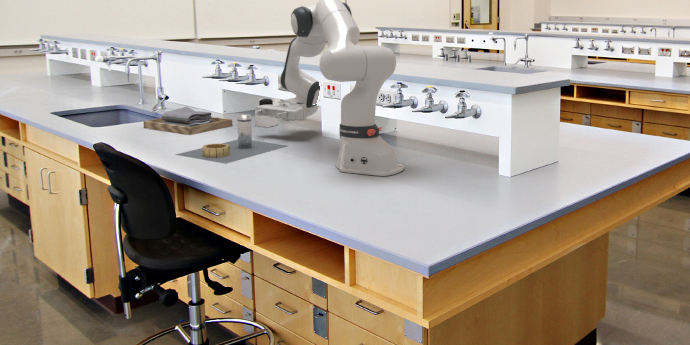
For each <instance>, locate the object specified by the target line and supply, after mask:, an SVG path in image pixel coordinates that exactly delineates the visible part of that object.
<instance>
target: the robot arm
mask: <svg viewBox="0 0 690 345" xmlns="http://www.w3.org/2000/svg"><path fill="white" fill-rule="evenodd" d="M351 10H352V9H351V7H350V6H349V5H348V3H346V2H342V1H341V0H318V2H317V3H313V4H308V5H306V6H299V7H297V8H294V9H293V10H292V12H291V14H290V26H291V29H292V31H293V34H294V35H296V37H294V38H293V39H292V40H291V41H290V43H289V46H288V49H287V53H286V56H285V57H286V58H285V63H284V66H283V70H282V72H281V74H280V78H279V80H280V85H281V87H282V88H283V89H284V90H286V91H288V92H291V93H292V94H293V95H295V97H293V98H292V97H291V98H286V99H283V100H281V101H280V102H279V104H278V105H276V104H273V105H260V106H259V105H257V106H256V108H255V110H256V115H257V116H268V117H275V118H277V119H281V120H283V121H284V122H293V121H306V120H307V118H308V117H311V116H312V115H314V114H316V113H317V112H318V109H319V107H320V105H319V106H317V104H316V103H317V100H318V96H319V91H320V86H319V82H320V81H318V80H317V79H316V78H314V77H312V76H310V75H309V74H307V73H306V72H304V71H302V69H301V68H300V66H299V65H300V60H301V57H303V58H314V57H317V56H319V55H320V54H321V56H320V58H319V70H320V73H321V75H322V76H323V77H324V79H326V80H328V81H331V82H332V81H334V82H340V83H343V82H345V83H346V82H355V85H354V86H353V88H352V90H351V91H350V92H349V93H346V94H345V95H344V96H343V98H342V99H341V103H340V124H339V129H338V130H339V139H340V142H339V149H338V150H339V151H338V156H337V161H336V163H335V167H336V168H337V169H339V172H341V173H349V174H356V175H357V174H358V175H359V174H361V175H371V176H377V177H387V176H393V175H397V174H399V173H401V172H402V171H403V170H404V169H405V166H404V164H401V163H398V157H397V152H396V149H395V148H393V147H392V146H391V145H390V144H389V143H388V142H387V141H385V139H383V138H382V137H381V136H380V132H382V130H383V127H382V126H380V127H378V126H377V124H376V109H377V99H378V96H379V93H380V91H381V88H382V87H383V85H384V84H385V82H387V80H388V79H389V78H390V77H391V76H393V74H394V73H395V70H396V67H397V58H396V54H395V52H394V51H393V50H392V49H391V48H389V47H387V46H380V45H357V44H358V42H359V40H360V36H361V33H360V32H361V31H360V28H359V26H358V24H357V23H356V21H355V20H354V17H353V15H352V14H353V13H352V11H351ZM326 43H327V45H328V46H327V48H326V49H325V47H326ZM313 104H315V105H313Z"/></svg>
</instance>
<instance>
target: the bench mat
mask: <svg viewBox="0 0 690 345" xmlns="http://www.w3.org/2000/svg"><path fill="white" fill-rule="evenodd" d="M220 144H228V145H230V155H229V156H225V157H218V158H217V157H216V158H210V157H204V156H203V153H202V147H201V148H197V149H192V150H188V151H184V152H181V153H180V152H179V153H176V154H175V156H181V157H184V158H185V157H186V158H191V159H192V158H193V159H198V160H203V161H209V162H215V163H219V164H225V165H226V164H230V163H233V162H237V161H240V160H243V159H247V158H251V157H254V156H258V155H261V154H266V153H268V152H269V153H270V152H272V151H276V150H279V149H283V148H287V147H288V145H286V144H279V143H273V142H265V141H259V140H258V141H257V140H253V139H252V148H247V149H242V148H239V147H238V139H234V140H231V141H226V142H223V143H221V142H220Z"/></svg>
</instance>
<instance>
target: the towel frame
mask: <svg viewBox="0 0 690 345" xmlns="http://www.w3.org/2000/svg"><path fill="white" fill-rule="evenodd" d="M211 117H212V119H211V118H210V119H209V120H212V122H211V123H208V124H203V125H198V126H193V127H186V126H179V125H172V124H165V123H162V122H163V121H165V120H163V119H162V117H160V118H154V119H149V120H144V121H143V120H142V121H143V122H142V123H143V128H144V129H147V128H149V129H148V130H154V131H162V132H163V131H164V132H168V133H175V134H182V135H186V136H187V135H188V136H191V135H196V134H201V133H205V132H210V130H211V131H215V130H220V129H224V128H229V127H230V128H231V127H233V118H225V117H219V116H218V117H217V116H216V117H215V116H211Z"/></svg>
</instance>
